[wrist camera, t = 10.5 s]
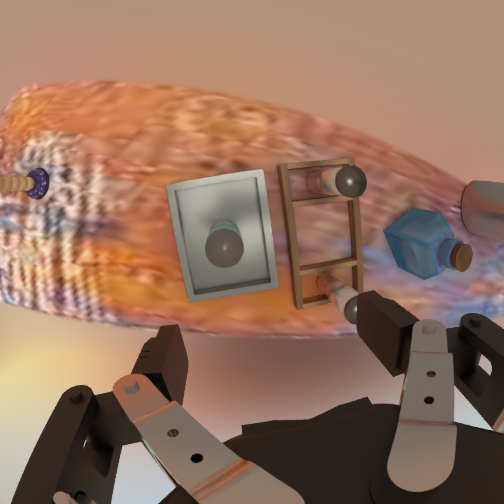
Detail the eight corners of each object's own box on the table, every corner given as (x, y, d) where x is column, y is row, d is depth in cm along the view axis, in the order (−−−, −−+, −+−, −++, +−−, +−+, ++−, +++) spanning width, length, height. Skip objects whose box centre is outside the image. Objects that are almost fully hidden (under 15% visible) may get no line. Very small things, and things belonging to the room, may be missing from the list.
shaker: (237, 217, 32) (241, 226, 25) (242, 248, 33) (247, 264, 26) (206, 222, 32) (201, 233, 25) (212, 253, 33) (208, 271, 26)
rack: (348, 159, 33) (354, 158, 31) (358, 291, 37) (363, 295, 35) (277, 165, 32) (280, 164, 30) (294, 305, 36) (297, 309, 35)
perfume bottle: (383, 230, 35) (441, 250, 24) (413, 207, 35) (473, 219, 23) (398, 266, 37) (452, 295, 25) (426, 243, 37) (483, 264, 25)
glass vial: (327, 169, 33) (364, 164, 23) (329, 192, 33) (368, 196, 24) (304, 171, 32) (336, 166, 23) (307, 195, 33) (340, 199, 24)
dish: (260, 170, 32) (263, 168, 30) (275, 281, 35) (278, 287, 33) (169, 185, 31) (165, 184, 29) (190, 295, 34) (189, 302, 32)
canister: (336, 268, 36) (371, 295, 26) (337, 288, 36) (371, 320, 27) (315, 272, 35) (346, 301, 26) (316, 293, 36) (346, 327, 27)
